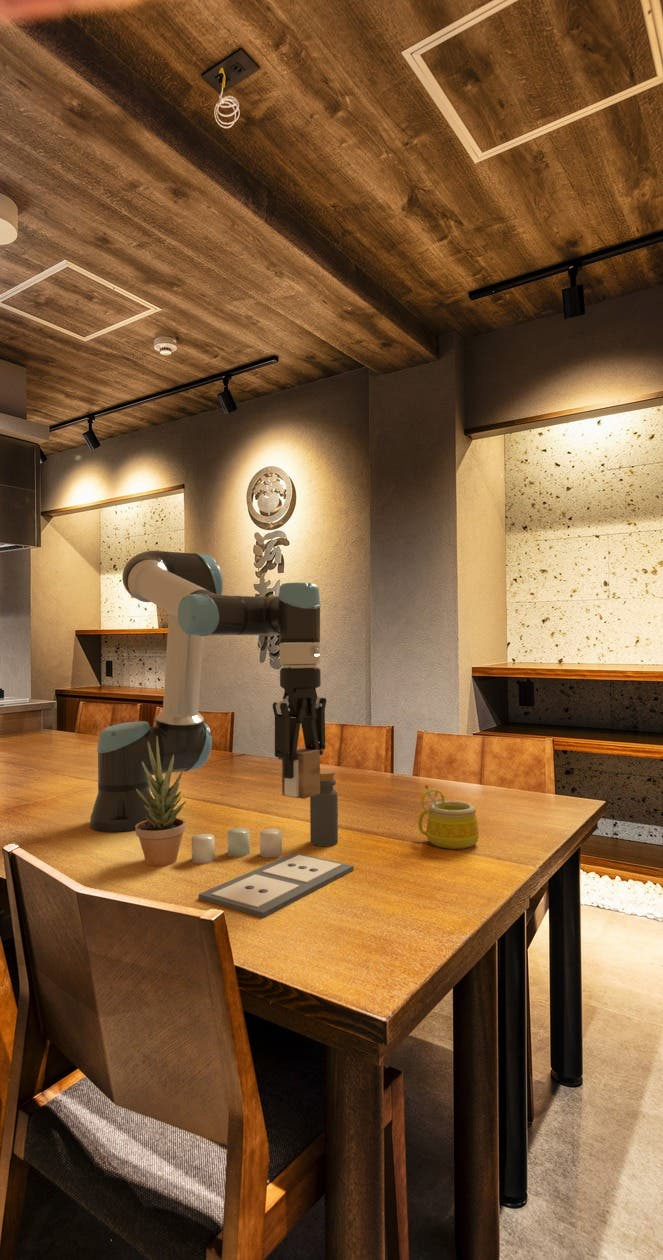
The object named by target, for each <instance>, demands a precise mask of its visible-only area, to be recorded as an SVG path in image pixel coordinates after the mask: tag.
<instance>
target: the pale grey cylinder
mask: <svg viewBox="0 0 663 1260" xmlns="http://www.w3.org/2000/svg"><path fill="white" fill-rule="evenodd" d="M214 861H215V835H214V834H211V833H200V834H199V833H198V834H195V835H193V836H191V862H192V863H194V864H197V865H198V864H199V865H200V864H201V865H202V864H209V863H212V862H214Z"/></svg>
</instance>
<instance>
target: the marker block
mask: <svg viewBox="0 0 663 1260" xmlns="http://www.w3.org/2000/svg"><path fill="white" fill-rule="evenodd" d="M289 753H290V752H289ZM295 760H299V796H298V797H293V796H288V797H290V798H296V799H301V800H304V799H308V798H310V797H311V796H314V795H317V794H320V770H321V755H320V750H312V749H306V748H301V747H297V751H296V758H295ZM281 796H282V797H287V796H286V795H285V778H284V776H283V760H282V759H281Z"/></svg>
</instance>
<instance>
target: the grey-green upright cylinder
mask: <svg viewBox="0 0 663 1260" xmlns="http://www.w3.org/2000/svg"><path fill="white" fill-rule="evenodd" d="M250 836H251V835H250V829H249V828H246V827H233V828H230V829H228V830H227V855H228V856H229V857H234V858H235V857H237V858H238V857H240V858H241V857H245V856H248V855H250V852H251V851H250V850H251V849H250V848H251V847H250V838H251V837H250Z"/></svg>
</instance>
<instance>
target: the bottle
mask: <svg viewBox="0 0 663 1260" xmlns="http://www.w3.org/2000/svg"><path fill="white" fill-rule="evenodd" d="M335 773H336V772H335V770H332V769H320V794H317V795H314V796H311V797H309V799H310V800H309V801H310V802H309V803H310V804H309V808H310V810H309V818H310V820H309V823H310V844H311V845H314V846H317V847H330V846H334V845H337V844H338V842H339V818H338V817H339V813H338V810H339V808H338V807H339V804H338V803H339V802H338V799H339V798H338V797H339V796H338V791H337V790H336V789H334V786H336V785H337V784H336V783H337V781H336V779H335Z"/></svg>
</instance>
